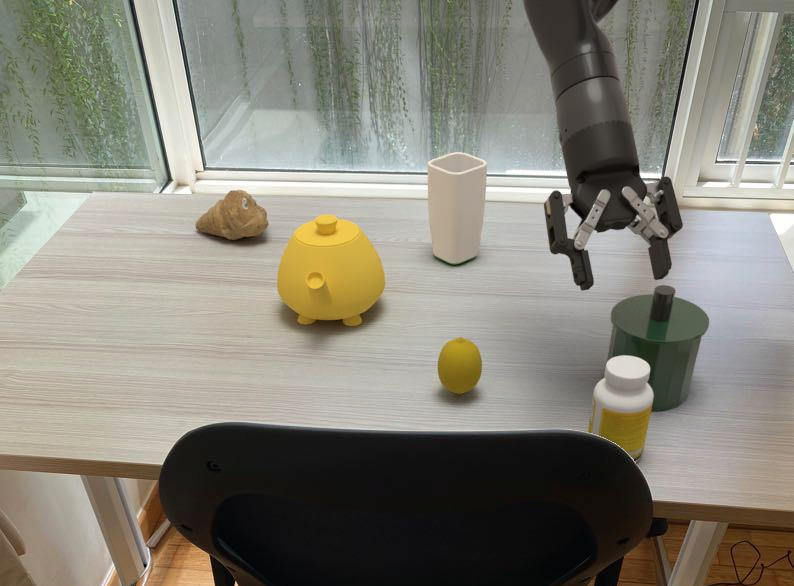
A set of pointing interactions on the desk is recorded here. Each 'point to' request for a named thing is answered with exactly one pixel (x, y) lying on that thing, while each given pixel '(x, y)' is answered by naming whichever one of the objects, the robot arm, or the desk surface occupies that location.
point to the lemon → (459, 365)
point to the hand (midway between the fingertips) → (625, 282)
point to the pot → (661, 366)
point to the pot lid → (660, 318)
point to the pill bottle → (623, 404)
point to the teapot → (330, 272)
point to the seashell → (234, 217)
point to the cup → (456, 205)
